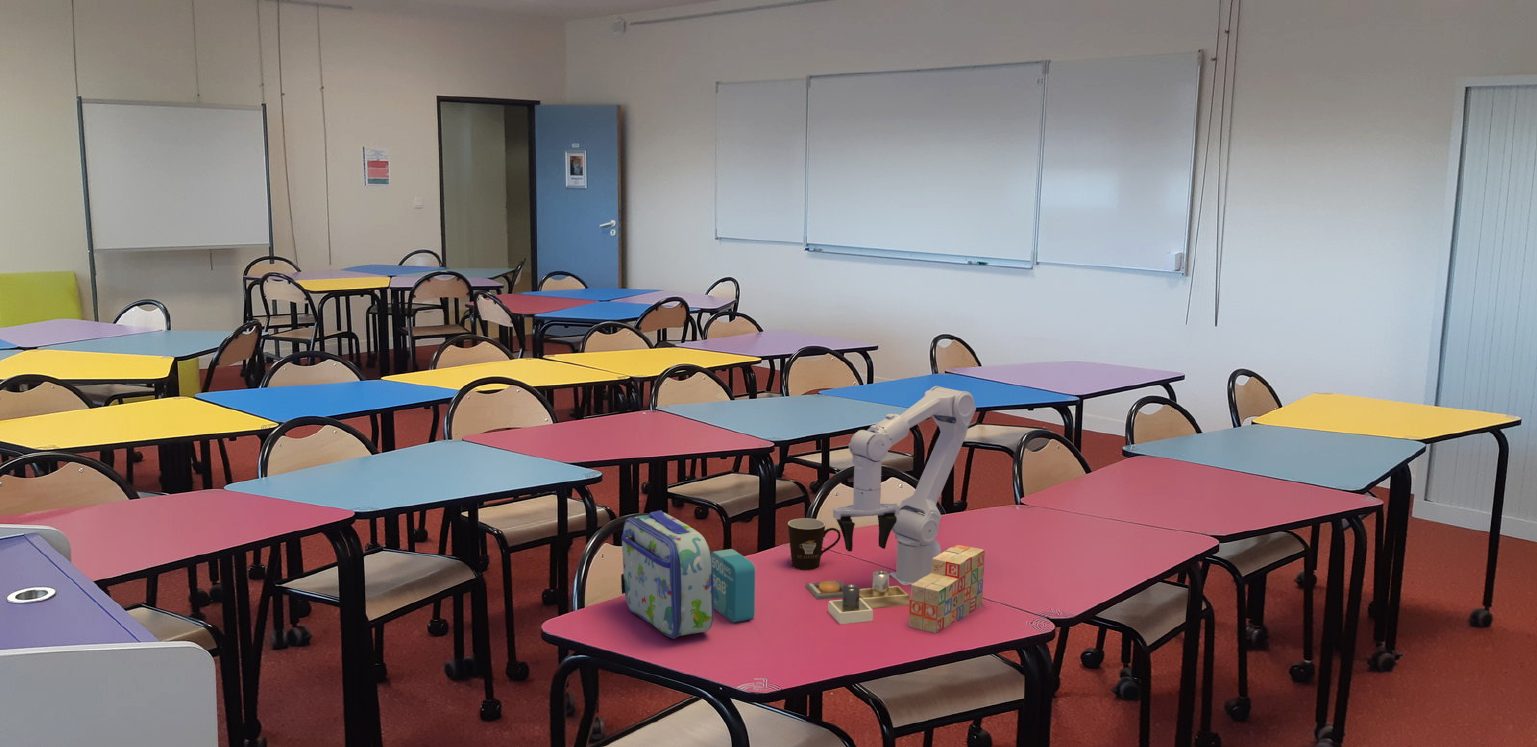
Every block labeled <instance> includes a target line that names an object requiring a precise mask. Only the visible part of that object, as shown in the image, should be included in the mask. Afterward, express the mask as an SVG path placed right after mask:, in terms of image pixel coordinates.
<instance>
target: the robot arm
mask: <svg viewBox="0 0 1537 747" xmlns="http://www.w3.org/2000/svg"><path fill="white" fill-rule="evenodd" d="M923 394H924V395H923V397H921V398H920V399H919V400H918V401H917V402H916V403H914V404H913V405H911V406H910V407H908V408H907V409H906V410H905V411H904V412H902V413H901V414H899V413H898V414H897V413H887V414H886V415H885V418H883V419H882V420H881V421H879V422H877V423H876V424H872V425H870V426H869V428H868V429H867V430H865V429H860V430H857V432H855V433H853V435H852V437H851V439H850V443H848V450H849V453H850V454H851V455H852V462H853V465H854V466H853V467H854V468H853V471H854V472H853V503H852V504H849V505H845V506H842V507H834V508H832V509H833V510H832V511H833V512H832V517H833V518H834V519H835V520H836V522H837V524H838V526H839V528H840V531H841V533H842V538H843V541H844V547H845V550H846V551H847V552H849V553H850V552H853V548H854V547H853V542H854V541H853V536H854V530H855V525H856V523H855V522H853V518H859V517H861V518H862V517H873V516H877V520H878V521H877V522H878V547H880V548H881V549H882V550H883V549H886V546H887V543H888V540H889V536H890V533H891V532H892V533H893V534H895V538H894V539H896V540H897V544H896V548H897V549H896V568H895V569H896V572H895V571H893V572H890V573H889V577H891V578H894V579H895V580H896V581H897V582H898V583H900V584H901V585H902V586H910V585H912V584H913V583H915V582H917V581H918V580H920V579H922V578H923V577H926V576H927V575H929V574H931V573H932V559H933V558H934V557H936V556H938V555H939V554H941V553H942V549H941V545H940V543H939V541H938V540H936V538H937V536H938V533H939V526H940V523H941V519H942V514H941V512H940V511H939V509H938V506H937V503H938V501H939V499H940V496H941V495H942V492H943V490H944V487H945V485H946V483H947V480H948V478H949V475H950V473H951V471H952V468H953V466H954V464H955V462H956V459H957V457H958V455H959V453H960V450H961V448H962V446H963V443H964V441H965V439H966V436H967V433H968V428H969V426H970V424H971V421H972V419H973V417H974V415H975V412H976V410H977V407H976V403H975V398H974V396H973V394H972V393H971V392H969V391H966V390H965V391H964V390H963V391H961V390H958V389H952V388H947V387H943V386H939V385H935V386H933V387H931V388H930V389H929V390H926V391H925V392H924V393H923ZM930 417H932V419H933V422H934V423H935V424H936V425H937V426H938V428H939V431H940V433H939V434H938V435H939V436H938V438H937V439H936V442H935V443H934V446H933V450H932V451H931V452H930V453H931V454H930V455H929V459H928V461H927V463H926V465H925V468H924V470H923V472H922V474H921V476H920V479H919V481H918V483H917V485H916V488H915V490H914V492H913V494H912V495H910V496H909V497H906V498H905V499H903V500H902V501H901V503H900V504H897V503H881V495H882V494H881V489H882V488H881V486H882V482H881V481H882V461H883V459H884V458H886V456H887V454H888V451H889V450H890V449H891V448H892V446H894V445H896V444H897V443H899V442H900V441H902V440H904V439H906V437H908V436H909V432H910V431H909V430H910V429H911V428H913V427H914V426H916V425H918V424H920V423H922V422H923V421H925V420H927V419H928V418H930Z"/></svg>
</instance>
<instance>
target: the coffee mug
mask: <svg viewBox="0 0 1537 747" xmlns="http://www.w3.org/2000/svg"><path fill="white" fill-rule="evenodd" d="M787 526H788V527H787V528H788V537H789V538H788V539H789V548H790V559H791V566H792V567H793V568H794V569H796V570H800V571H801V570H802V571H812V570H816V569H819V568H820V565H821V559H822V558H821V557H822V555H824V553H826V552H828V551H829V550H831V549H832V548H833V547H835V546H836V545H837V544H838V542H839V541H840V539H841V532H840V530H839V529H838V528H835V527H829V528H827V529H826V522H825V521H822V520H821V519H816V518H809V517H808V518H805V517H804V518H795V519H791V520H789V521H788V522H787ZM830 531H831V532H832V531H834V532H836V533H837V535H838V536H837V538H836V540H835V541H834V542H833V543H832V544H831V545H829V546H827V547H825V548H824V549H823V544H824V538H825V536H826V535H827V534H828V532H830Z"/></svg>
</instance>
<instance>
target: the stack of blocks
mask: <svg viewBox="0 0 1537 747" xmlns="http://www.w3.org/2000/svg"><path fill="white" fill-rule="evenodd" d="M984 571H985V549H982V548H977V547H973V546H972V547H971V546H967V545H960V544H956V545H955V546H951V547H949V548H948V549H946V550H945V551H943V552H941V554H939V555H938V556H936V557H934V558H933V559H932V573H931V574H929V575H927V576H926V577H923V578H922V579H920V580H918V581H917V582H915V583H913V584H912V585H911V586H910V598H909V609H908V610H909V612H908V613H909V614H908V615H909V616H908V619H909V620H908V627H910V628H914V629H917V630H921V631H925V632H929V633H933V634H937V633H938V632H940V631H941V630H943V629H945V628H947V627H948V626H950V625H951V624H952V623H954V622H955V621H956V622H958V621H960V620H961V619H963V618H964V617H965V616H967V615H968V614H971V613H972V612H973V611H975V610H976V609H979V608H980V607H981V606H982V605H983V596H984V595H983V594H984V593H983V588H984V587H983V586H984V573H985V572H984Z"/></svg>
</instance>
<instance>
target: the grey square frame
mask: <svg viewBox="0 0 1537 747" xmlns="http://www.w3.org/2000/svg"><path fill="white" fill-rule="evenodd" d="M834 581H835V582H838V583H839V584H840V592H833V593H821V592H820V591H819V583H820V582H821V581H820V582H809V583H805V587H806V589H807V590H808V591H809V592H810V593H811V594H812V596H813V597H814V598H815V599H816V600H830V599H840V598H842V595H843V586H845V585H846V584H845V583H844V582H843V581H842V580H834Z"/></svg>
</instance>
